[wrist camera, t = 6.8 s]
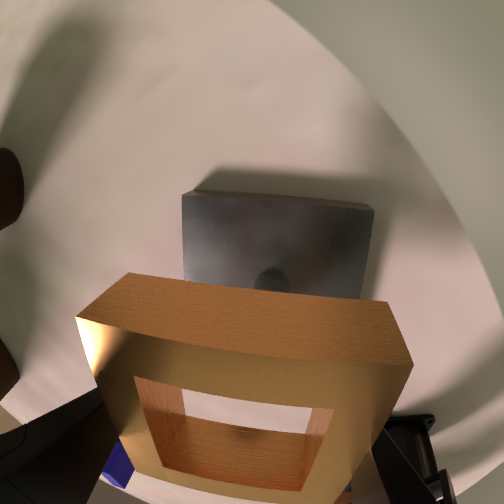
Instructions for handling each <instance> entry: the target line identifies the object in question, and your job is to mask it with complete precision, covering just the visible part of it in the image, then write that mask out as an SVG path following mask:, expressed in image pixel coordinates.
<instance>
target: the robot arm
mask: <svg viewBox="0 0 504 504" xmlns="http://www.w3.org/2000/svg"><path fill="white" fill-rule="evenodd" d="M434 422H435V416H434V415H420V416H403V417H389V418H388V420H387V421H386V423H385V425H384V427H383V429H382V430H381V432H380V434H379V436H378V437H377V439H376V441H375V443H374V444H373V446H372V447H371V448H370V449H369V450H368V452H367V454H366V455H365V457H364V458H363V460H362V462H361V463H360V465H359V466H358V468H357V469H356V471H355V472H354V474H353V475H352V479H351V480H350V481H349V483H348V484H347V486H346V487H345V488H344V490H345V491H346V492H351V503H349V504H457V502H456V497H455V493H454V489H453V485H452V482H451V480H450V477H449V475H448V473H447V470H446V468H445V469H443V470H441V471H439V473H438V469H437V464H436V460H435V456H434V452H433V449H432V445H431V441H430V438H429V434H428V431H429V430H430V428H431V427H432V425H433V424H434ZM118 438H119V435H118V432H117V430H116V428H115V426H114V424H113V421H112V419H111V417H110V414H109V412H108V410H107V407H106V405H105V403H104V402H103V399H102V397H101V394H100V392H99V389H98V387H97V388H95V389H93V390H91V391H89V392H87V393H85V394H84V395H82V396H80V397H78V398H76V399H74V400H72V401H70V402H68V403H66V404H64V405H62V406H60V407H58V408H56V409H54V410H52V411H50V412H48V413H46V414H44V415H42V416H40V417H38V418H36V419H34V420H32V421H30V422H28V424H24V425H22V426H20V427H18V428H15V429H13V430H11V431H9V432H7V433H4V434H1V435H0V504H86V503H87V501H88V499H89V497H90V495H91V493H92V491H93V489H94V487H95V485H96V483H97V481H98V479H99V477H100V475H101V473H102V471H103V469H104V467H105V465H106V463H107V461H108V459H109V457H110V455H111V453H112V451H113V449H114V447H115V445H116V443H117V441H118ZM442 496H443V499H441V500H438V501H436V499H437V498H440V497H442Z"/></svg>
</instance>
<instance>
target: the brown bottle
mask: <svg viewBox="0 0 504 504" xmlns="http://www.w3.org/2000/svg"><path fill="white" fill-rule="evenodd" d="M18 380H19V374H18V370H17V368H16V365H15V363H14V361H13V359H12V357H11V356H10V354H9V352H8V351H7V349H6V347H5V346H4V345H3V343H2V342H1V340H0V401H1V400H2V399H3V398H4V396H5V395H6V394H7V393H8V392H9V391H10V390H11V389H12V388H13V387H14V385H15V384H16V383H17V382H18Z"/></svg>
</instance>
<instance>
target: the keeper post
mask: <svg viewBox="0 0 504 504" xmlns="http://www.w3.org/2000/svg"><path fill="white" fill-rule="evenodd" d="M373 217H374V210H373V209H372V208H371V207H370V206H369V205H368V204H359V203H351V202H342V201H333V200H324V199H314V198H303V197H292V196H280V195H268V194H254V193H239V192H222V191H202V190H192V191H189V192H187V193H185V194H183V195H182V234H183V262H184V281H191V282H199V283H207V284H215V285H223V286H231V287H239V288H247V289H256V290H265V291H274V292H284V293H293V294H303V295H313V296H324V297H335V298H346V299H358V300H359V295H360V291H361V286H362V281H363V276H364V271H365V266H366V260H367V255H368V249H369V243H370V237H371V231H372V224H373Z"/></svg>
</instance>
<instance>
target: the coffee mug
mask: <svg viewBox="0 0 504 504" xmlns="http://www.w3.org/2000/svg"><path fill="white" fill-rule="evenodd" d="M23 199H24V184H23V176H22V171H21V168H20V165H19V162H18V160H17V158H16V157H15V155H14V154H13V153H12V152H11V151H10V150H9V149H7V148H0V231H1V230H2V229H4V228H6V227H7V226H9V225H10V224H12V223H14V222H15V221H16V220H17V219H18V217H19V215H20V213H21V210H22V206H23Z"/></svg>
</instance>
